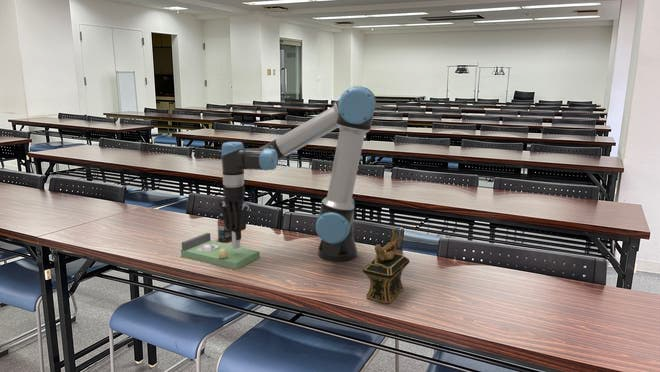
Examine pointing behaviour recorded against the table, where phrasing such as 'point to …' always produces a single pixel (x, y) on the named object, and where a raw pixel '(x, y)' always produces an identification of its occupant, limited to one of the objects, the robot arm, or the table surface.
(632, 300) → the table surface
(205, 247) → the ball
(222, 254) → the yellow ball
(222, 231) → the supplement bottle
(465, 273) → the table surface
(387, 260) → the decorative box
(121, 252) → the table surface
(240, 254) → the green
